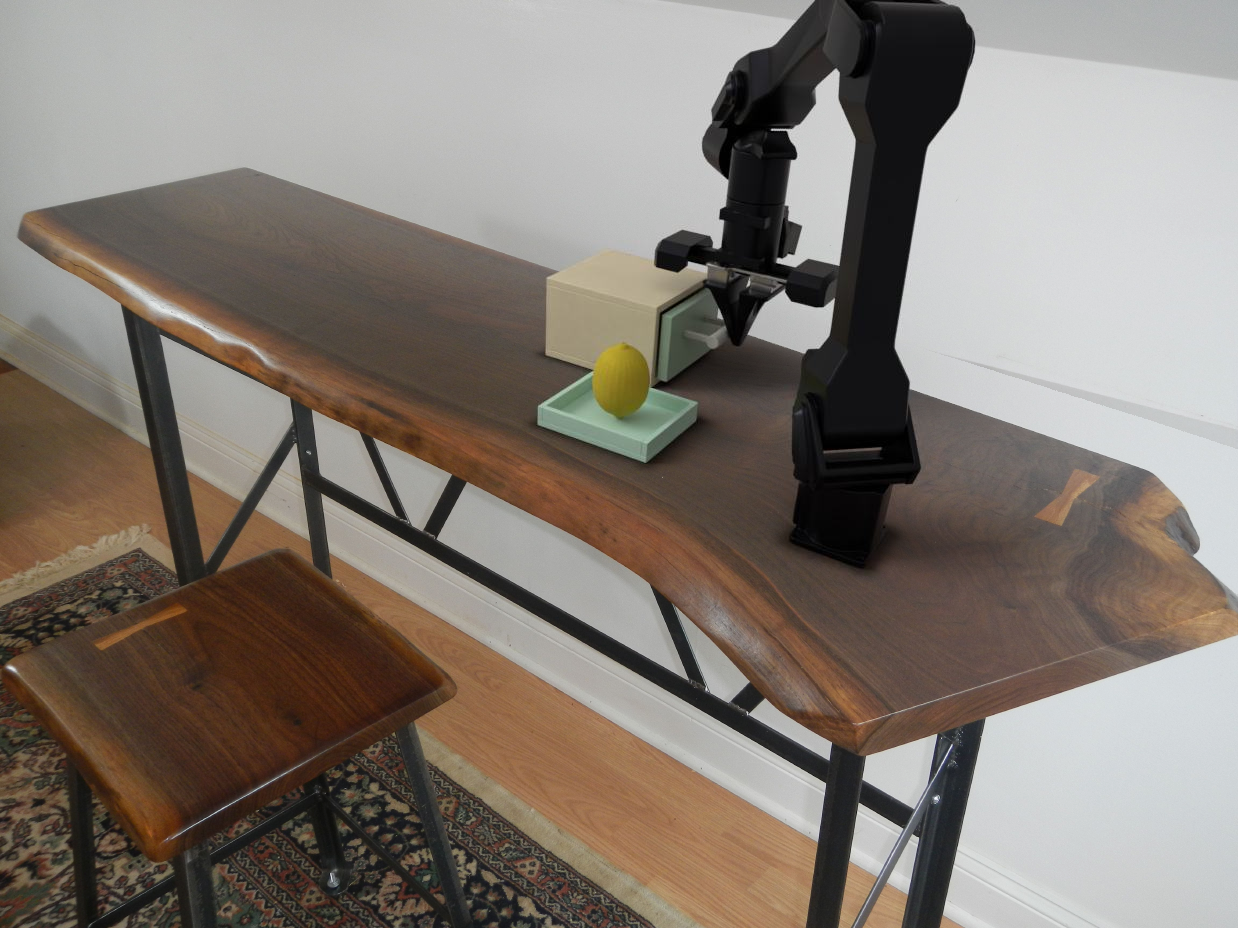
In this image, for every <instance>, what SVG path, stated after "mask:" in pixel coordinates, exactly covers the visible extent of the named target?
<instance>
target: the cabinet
mask: <svg viewBox="0 0 1238 928" xmlns="http://www.w3.org/2000/svg"><path fill="white" fill-rule="evenodd" d="M706 278H707V272H704V271H700V270H697V269H692V268H687V267H686V268H684V269H683V270H682V271H680V272H678V273H676V272H672V271H668V270H664V269H660V268H656V267H655V266H654V259H651V258H648V257H643V256H640V255H635V254H631V253H627V252H623V251H619V250H615V249H610V248H607V249H604V250H603V251H601V252H598V253H596V254H594V255H592V256H590V257H587V258H585V259H583V260H581V261H579V262H577V263H575V264H572V265H571V266H568V267H567V268H564V269H561V270H559V271H558V272H556V273H553V274H552V275H549V276H547V277H546V301H545V304H546V305H545V309H546V310H545V356H547V357H550V358H553V359H557V360H560V361H564V362H566V363H570V364H573V365H576V366H580V367H582V368H586V369H589V370H592V371H594V368H595V365H596V362H597V360H598V358H599V357H600V355H601V354H602V353H603V352H604V351H605V350H606V349H608V348H610V347H612V346H614V345H619V344H620V343H622V342H624V343H627V344H628V345H629V346H632V347H634V348H636V349H637V350H638V351H639V352H641V353H642V355H643V356H644V357H645V359H646V361H647V364H648V368H649V373H650V386H649V387H650V388H653V387H654V386H655V385H657V384H659V383H660V382H662V381H661V380H658V379H657V374H658V365H657V366H656V355H657V343H658V330H659V318H660V312H662V311H663V310H665V309H667V308H668V307H670V306H671V305H673V304H675V303H676V302H678V301H680V300H681V299H683V298H685V297H686V296H688V295H689V294H691V293H693V292H694V291H696V290H697V293H699V292H700V291H702V290H704V289H705V287H703V280H705V279H706Z"/></svg>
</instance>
